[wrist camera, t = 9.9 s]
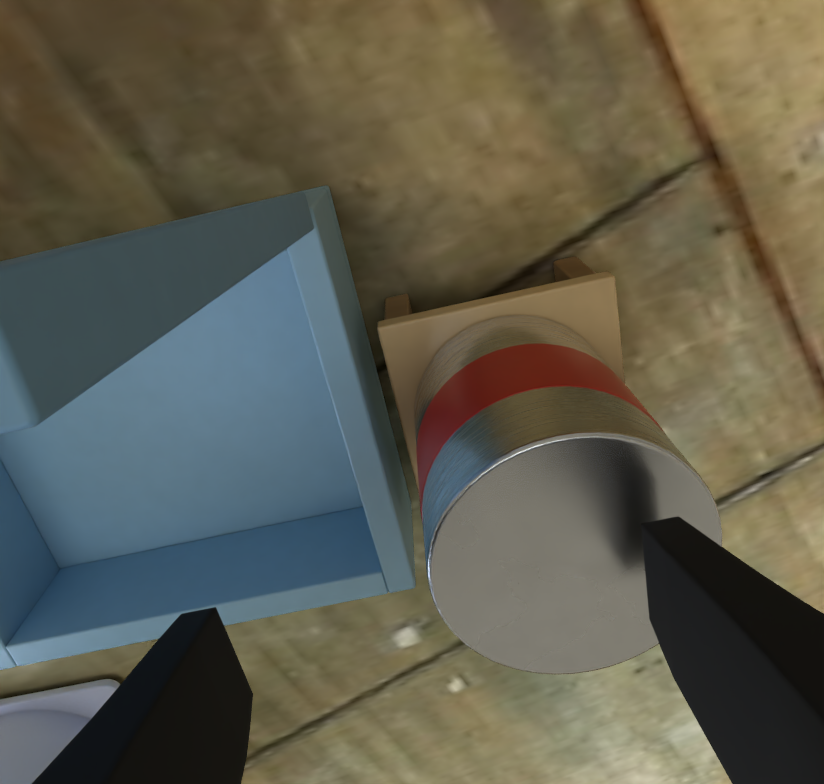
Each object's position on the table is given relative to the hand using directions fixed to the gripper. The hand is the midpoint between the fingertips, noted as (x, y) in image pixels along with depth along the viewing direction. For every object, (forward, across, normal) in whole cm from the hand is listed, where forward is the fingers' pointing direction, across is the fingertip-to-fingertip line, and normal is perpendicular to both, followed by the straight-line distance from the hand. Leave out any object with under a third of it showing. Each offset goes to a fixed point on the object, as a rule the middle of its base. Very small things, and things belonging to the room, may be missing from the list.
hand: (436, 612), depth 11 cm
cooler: (+10, +7, -1) cm, 13 cm away
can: (+7, -2, 0) cm, 8 cm away
